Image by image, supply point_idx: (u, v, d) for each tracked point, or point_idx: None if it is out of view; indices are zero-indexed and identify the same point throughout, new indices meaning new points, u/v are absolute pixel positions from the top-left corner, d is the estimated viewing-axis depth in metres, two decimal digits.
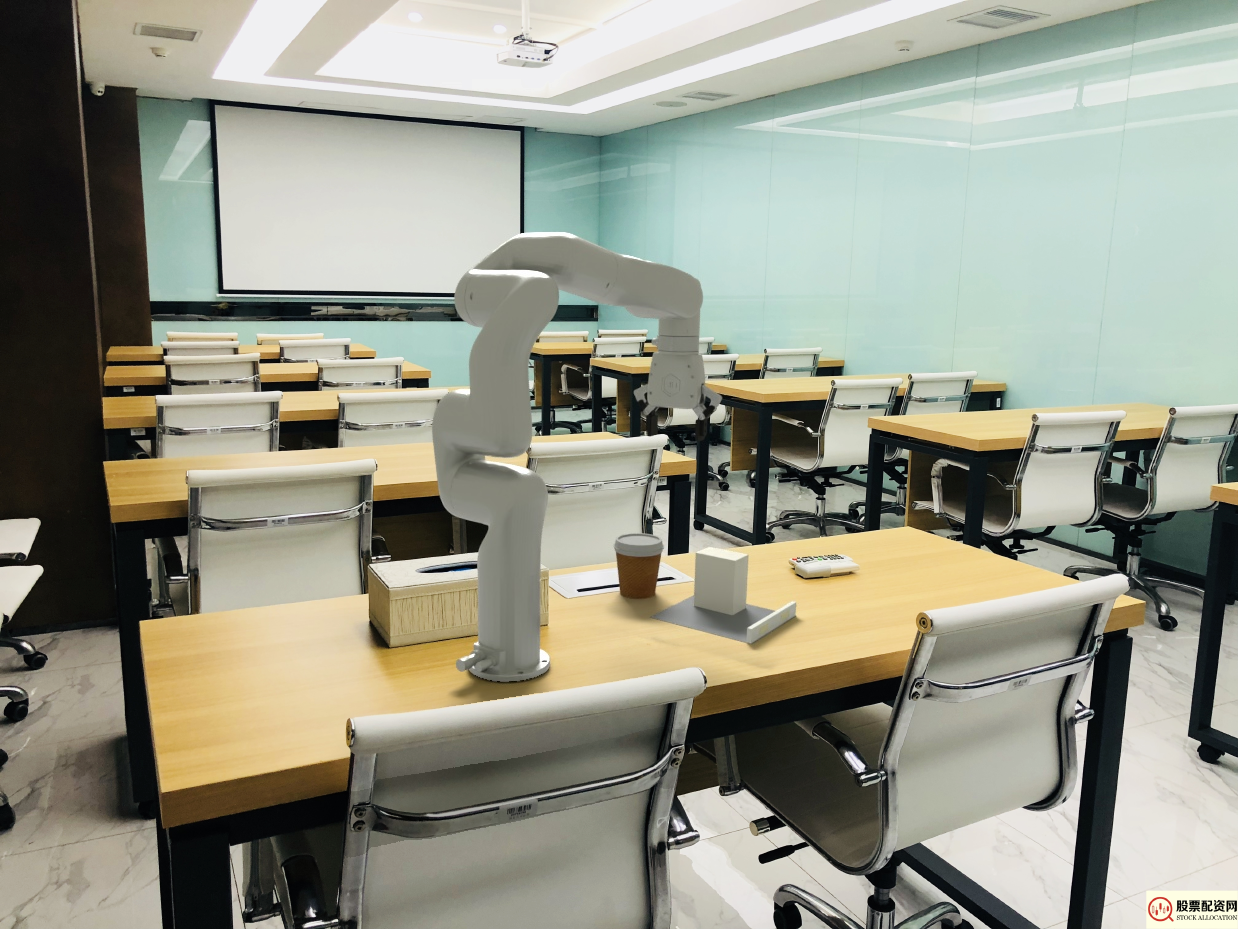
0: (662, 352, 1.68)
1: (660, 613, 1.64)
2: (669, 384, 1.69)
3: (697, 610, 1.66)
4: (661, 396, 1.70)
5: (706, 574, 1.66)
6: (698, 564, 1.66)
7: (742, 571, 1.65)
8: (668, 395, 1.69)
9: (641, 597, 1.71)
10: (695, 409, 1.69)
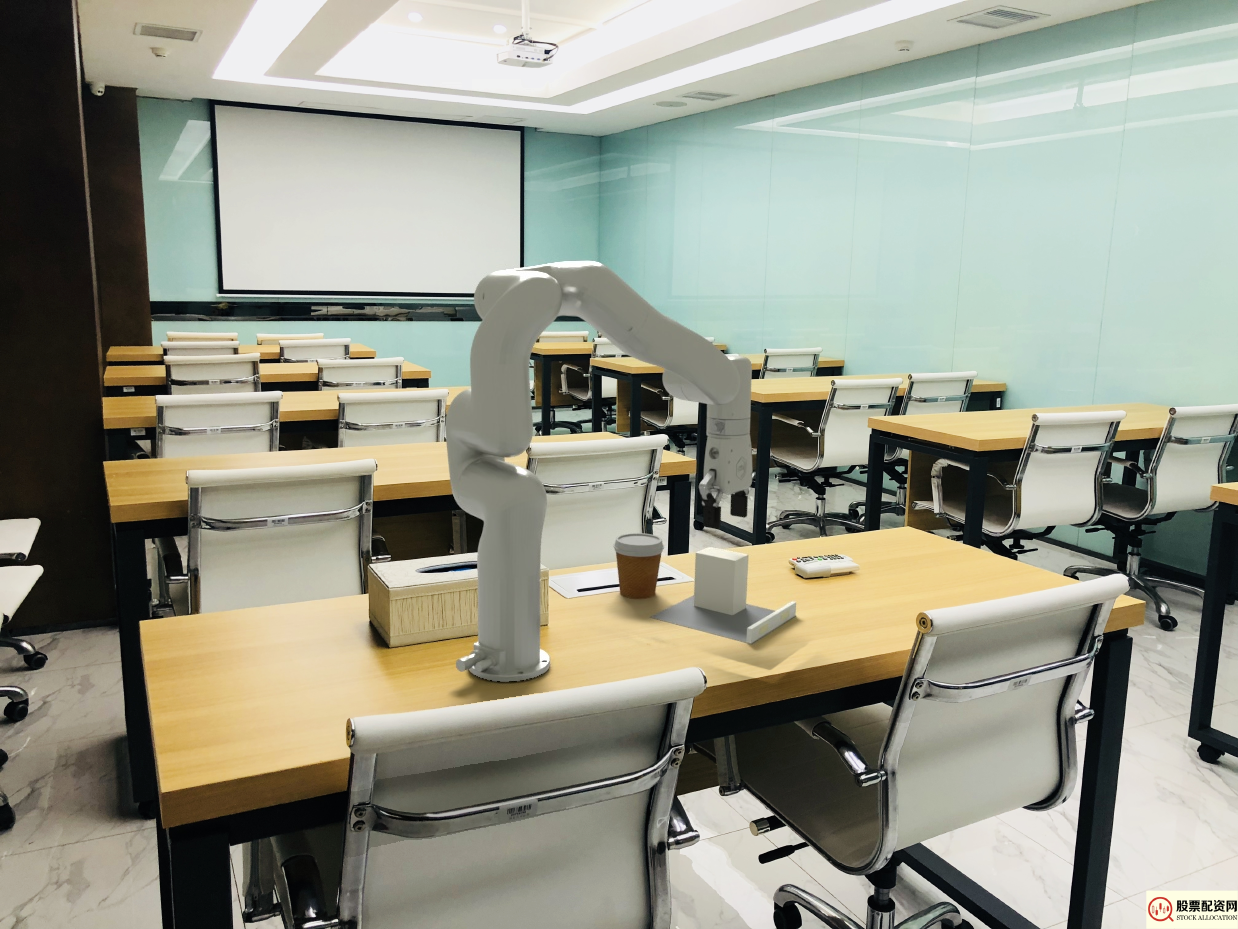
0: (740, 436, 1.59)
1: (660, 613, 1.64)
2: (740, 468, 1.61)
3: (697, 610, 1.66)
4: (735, 482, 1.61)
5: (706, 574, 1.66)
6: (698, 564, 1.66)
7: (742, 571, 1.65)
8: (739, 480, 1.62)
9: (641, 597, 1.71)
10: None
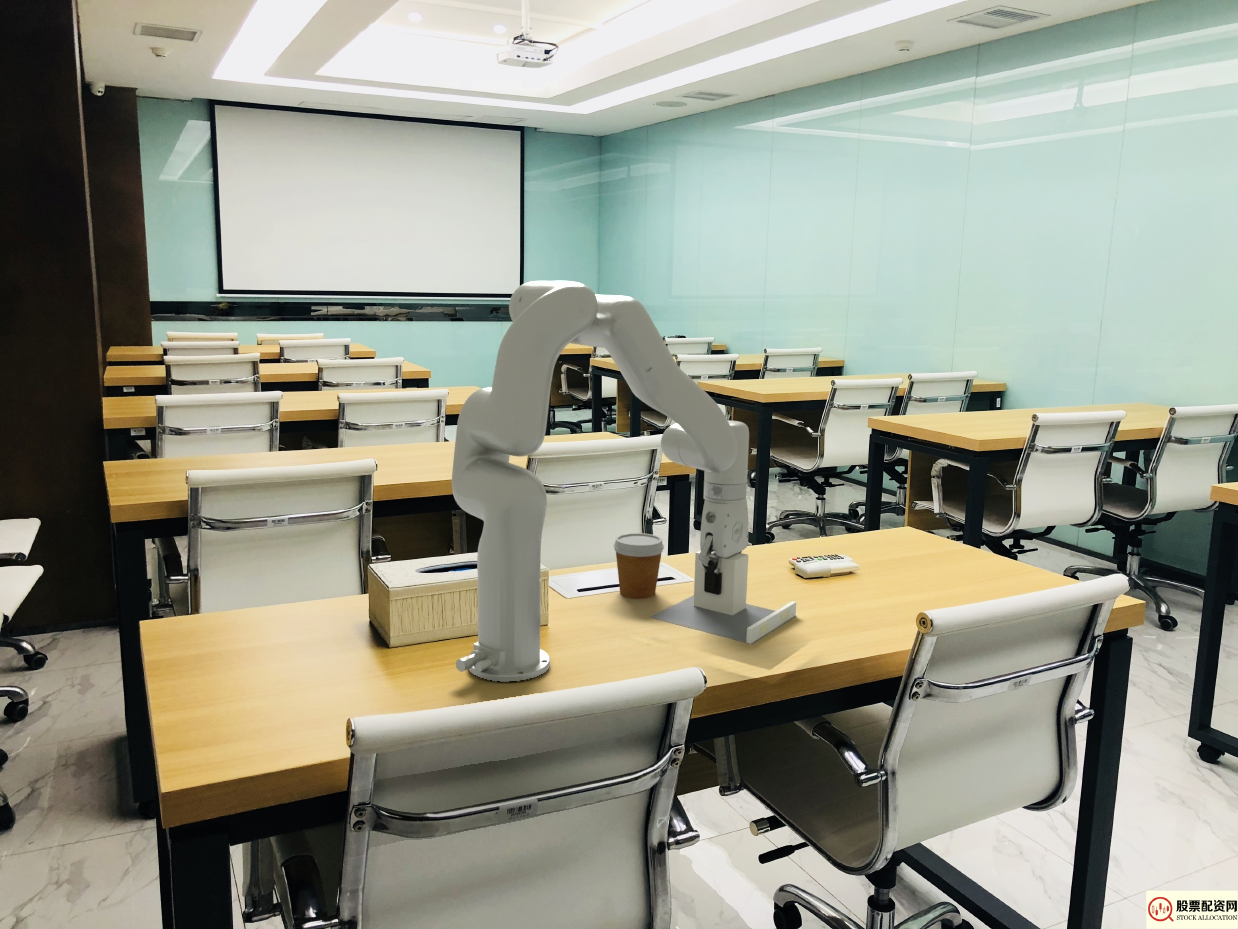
0: (737, 501, 1.61)
1: (660, 613, 1.64)
2: (736, 531, 1.63)
3: (697, 610, 1.66)
4: (731, 546, 1.63)
5: None
6: (698, 564, 1.66)
7: (742, 571, 1.65)
8: (735, 543, 1.64)
9: (641, 597, 1.71)
10: None
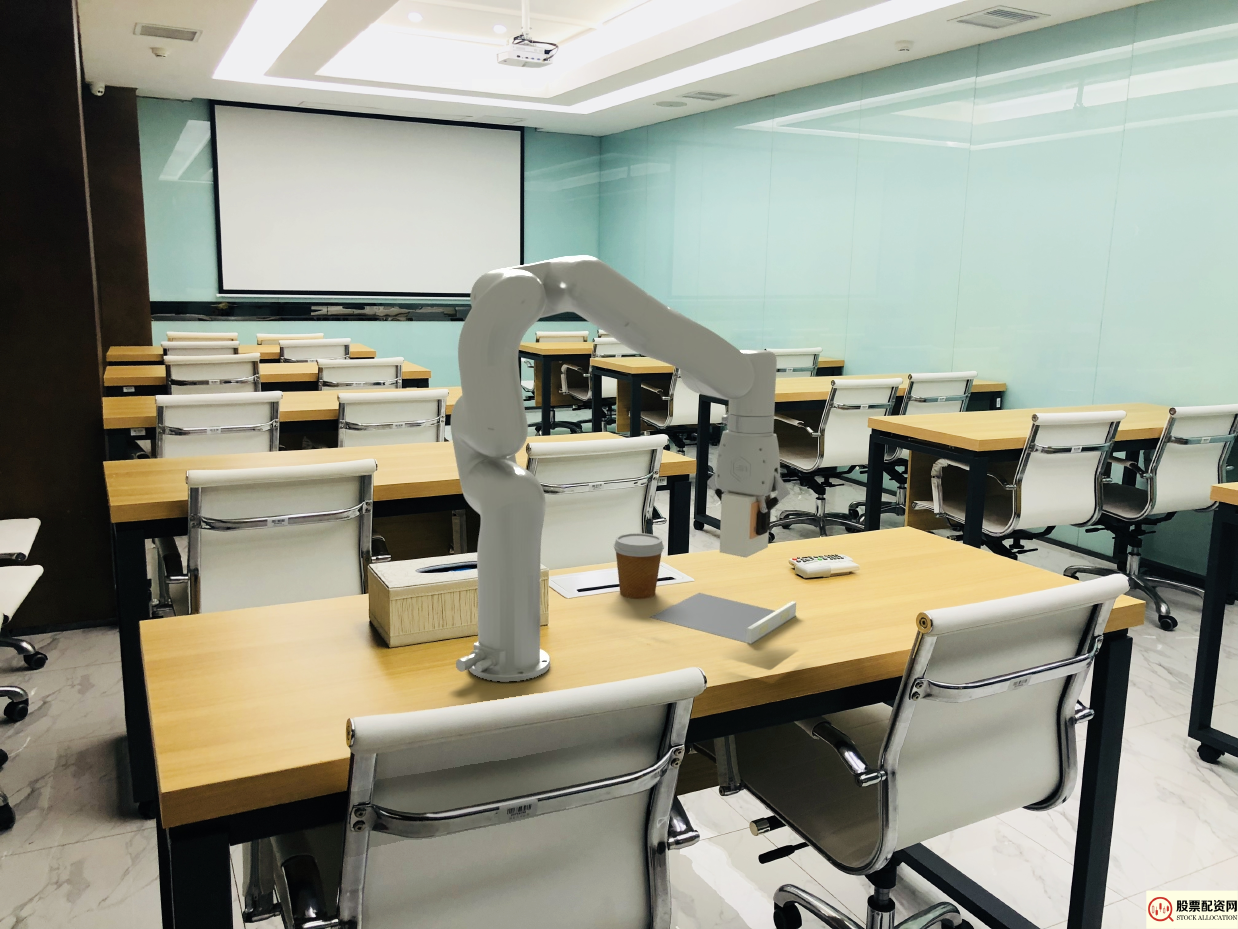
0: (731, 432, 1.52)
1: (660, 613, 1.64)
2: (739, 468, 1.53)
3: (697, 610, 1.66)
4: (730, 480, 1.54)
5: None
6: None
7: (737, 513, 1.53)
8: (737, 480, 1.53)
9: (641, 597, 1.71)
10: (760, 499, 1.53)
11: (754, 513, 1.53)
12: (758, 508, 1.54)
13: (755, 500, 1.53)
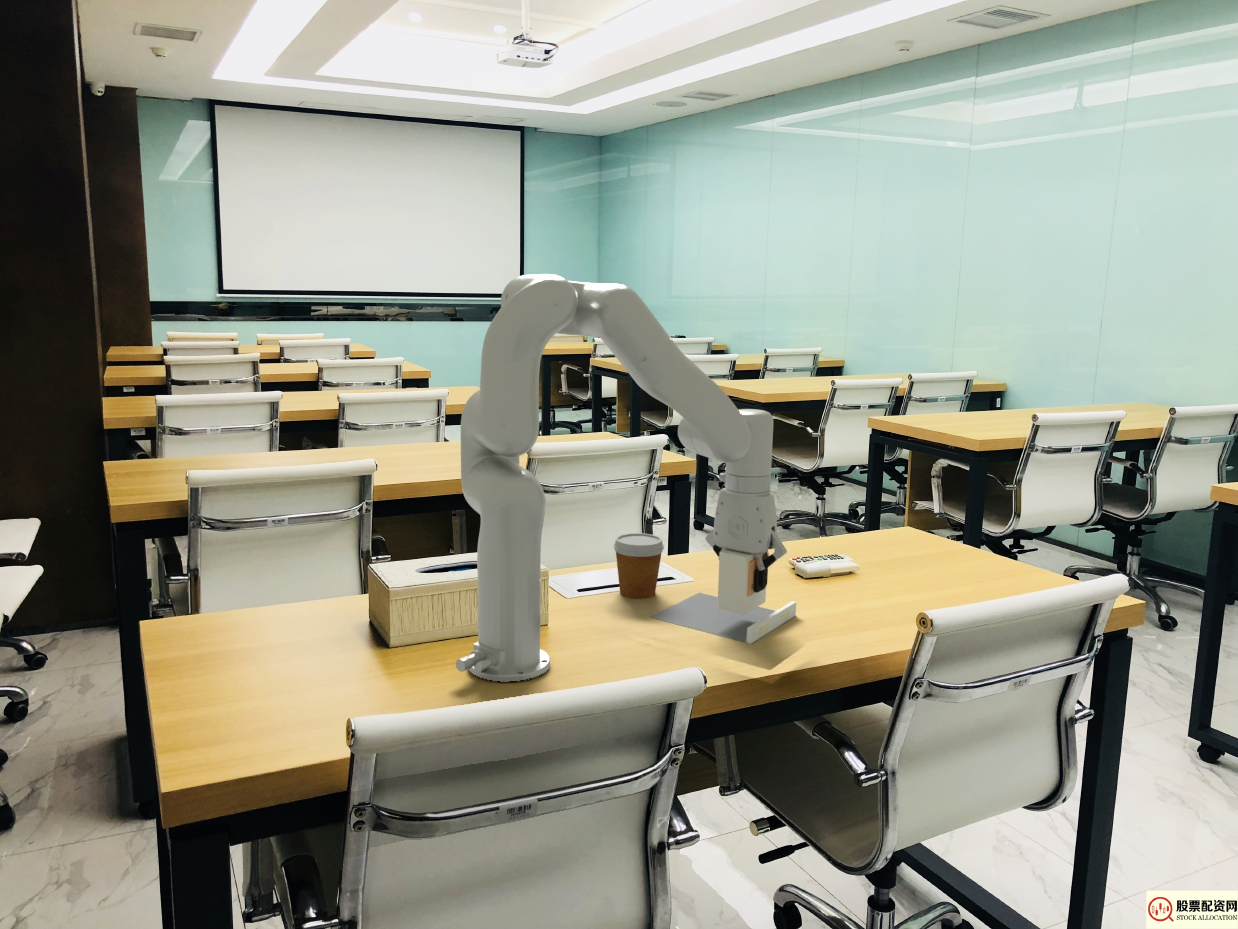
0: (729, 492, 1.54)
1: (660, 613, 1.64)
2: (736, 526, 1.55)
3: (697, 610, 1.66)
4: (727, 538, 1.56)
5: None
6: None
7: (735, 570, 1.55)
8: (734, 538, 1.55)
9: (641, 597, 1.71)
10: (757, 557, 1.55)
11: (752, 570, 1.55)
12: (755, 565, 1.56)
13: (752, 558, 1.55)
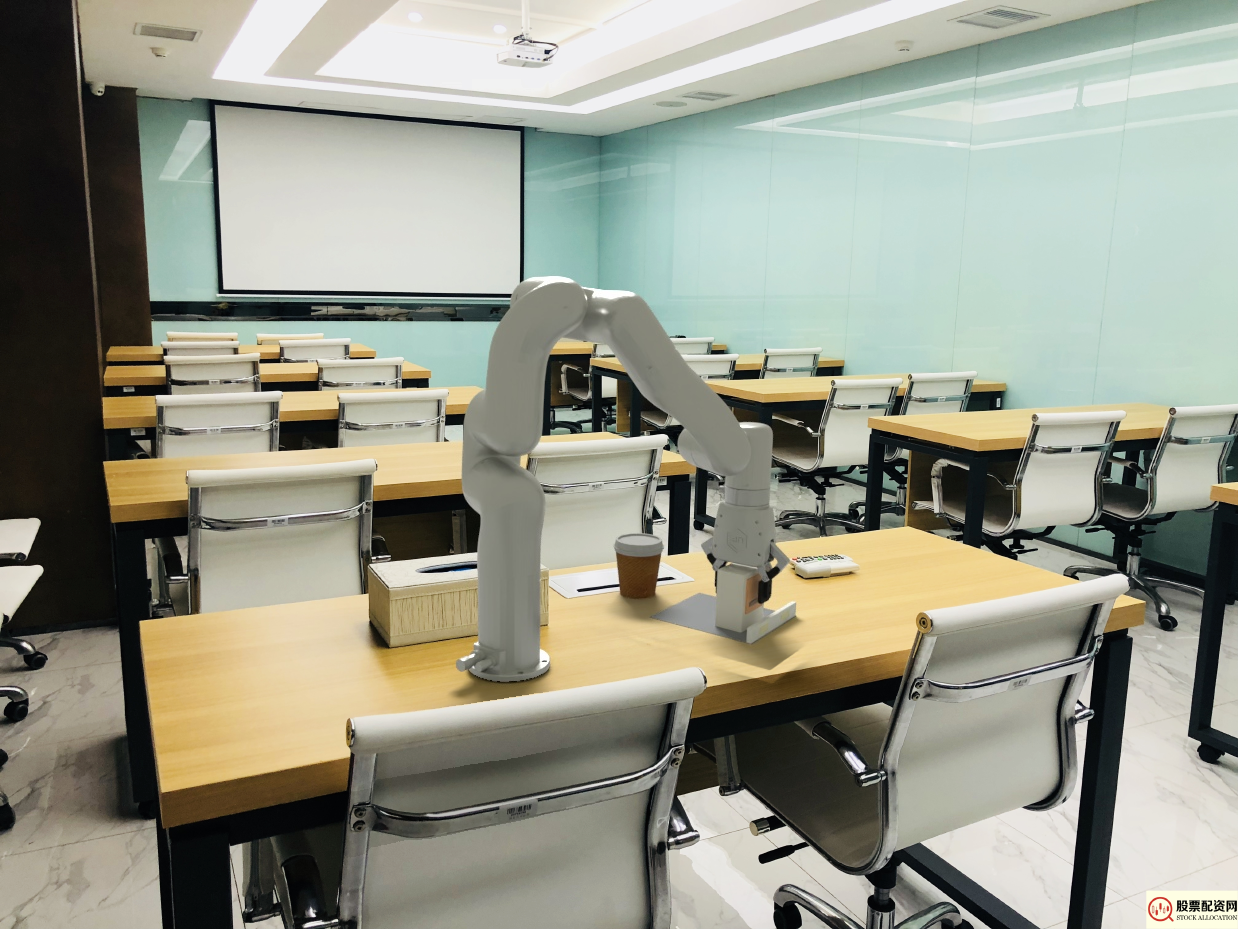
0: (728, 505, 1.54)
1: (660, 613, 1.64)
2: (735, 539, 1.55)
3: (697, 610, 1.66)
4: (726, 550, 1.56)
5: None
6: None
7: (733, 588, 1.55)
8: (733, 550, 1.55)
9: (641, 597, 1.71)
10: (760, 569, 1.55)
11: (750, 588, 1.55)
12: (753, 583, 1.56)
13: (750, 576, 1.56)
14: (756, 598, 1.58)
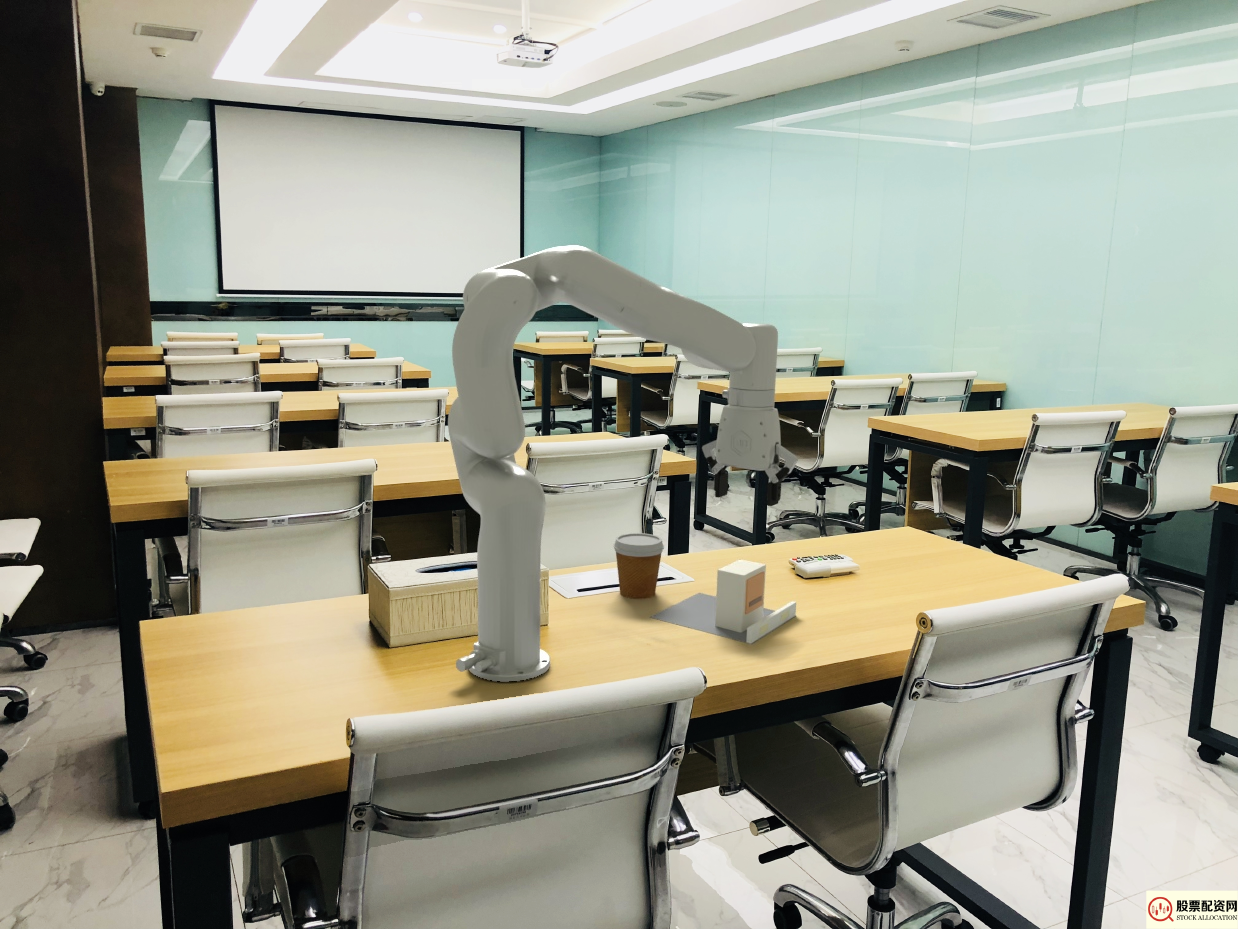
0: (732, 406, 1.51)
1: (660, 613, 1.64)
2: (739, 442, 1.52)
3: (697, 610, 1.66)
4: (730, 455, 1.53)
5: None
6: None
7: (733, 588, 1.55)
8: (737, 454, 1.52)
9: (641, 597, 1.71)
10: (767, 471, 1.51)
11: (750, 588, 1.55)
12: (753, 583, 1.56)
13: (750, 576, 1.56)
14: (756, 598, 1.58)
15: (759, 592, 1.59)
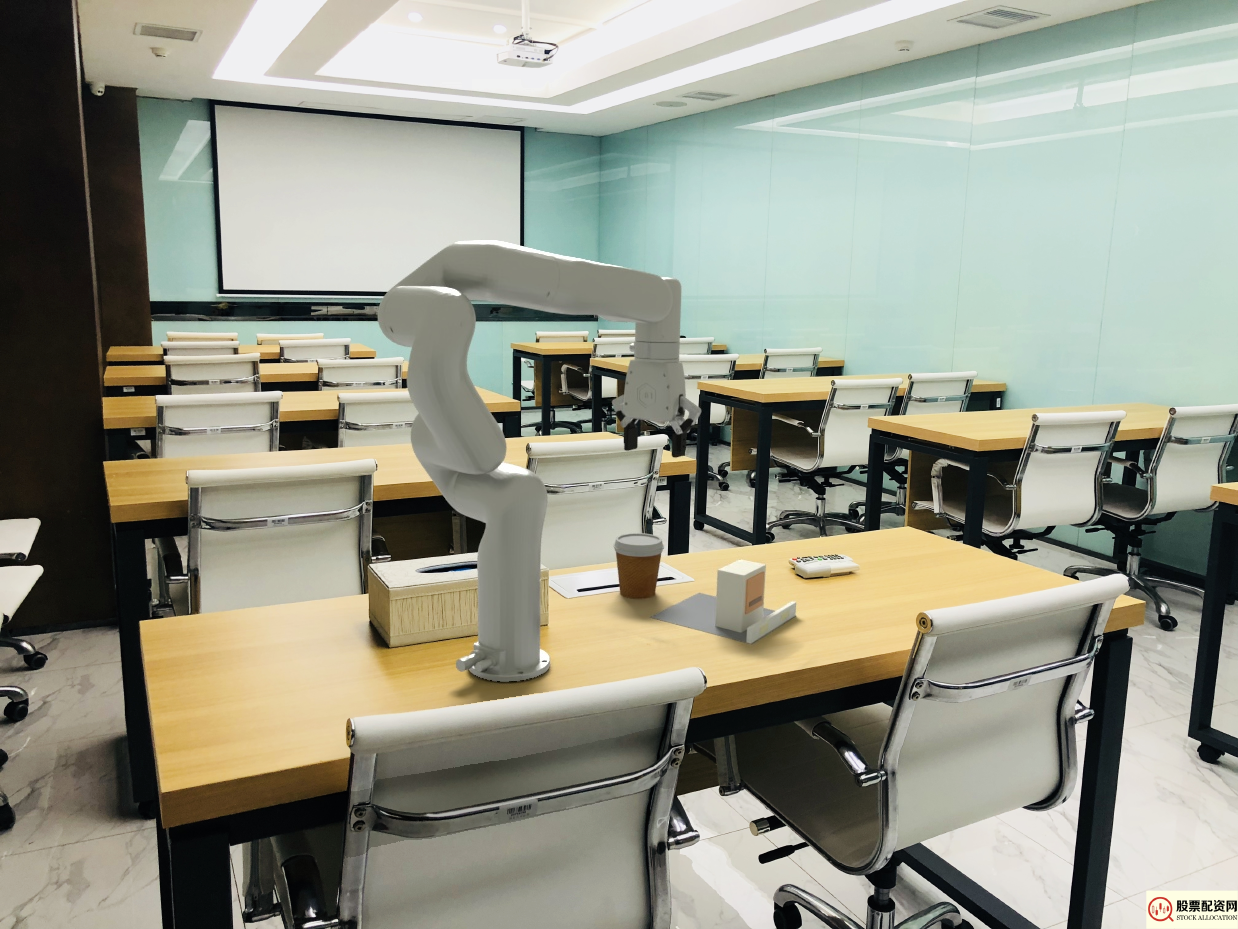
0: (637, 359, 1.54)
1: (660, 613, 1.64)
2: (644, 394, 1.54)
3: (697, 610, 1.66)
4: (636, 407, 1.56)
5: None
6: None
7: (733, 588, 1.55)
8: (643, 406, 1.55)
9: (641, 597, 1.71)
10: (672, 422, 1.54)
11: (750, 588, 1.55)
12: (753, 583, 1.56)
13: (750, 576, 1.56)
14: (756, 598, 1.58)
15: (759, 592, 1.59)
